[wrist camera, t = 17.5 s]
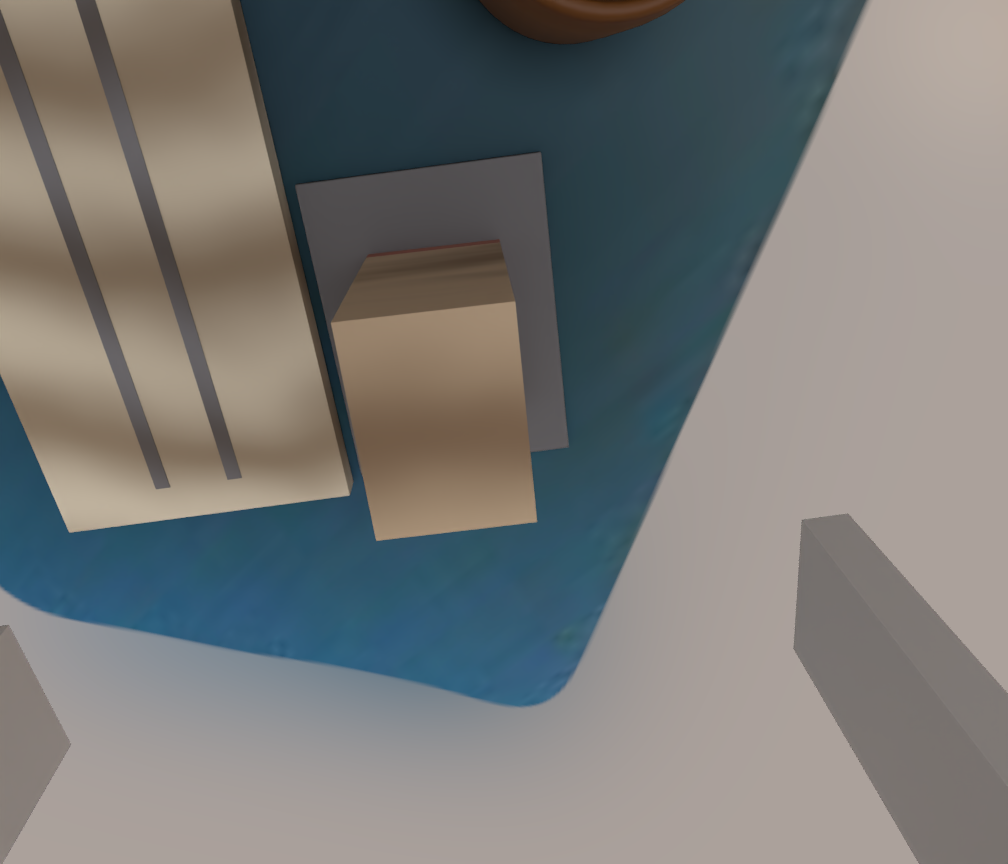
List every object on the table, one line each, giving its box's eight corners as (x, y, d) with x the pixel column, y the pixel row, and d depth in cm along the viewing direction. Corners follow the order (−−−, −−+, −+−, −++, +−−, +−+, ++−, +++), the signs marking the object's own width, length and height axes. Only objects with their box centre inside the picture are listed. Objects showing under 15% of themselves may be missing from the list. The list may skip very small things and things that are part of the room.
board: (-169, -78, 23) (-201, -86, 22) (209, -129, 23) (196, -139, 22) (82, 517, 33) (69, 533, 32) (353, 481, 33) (349, 496, 32)
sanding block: (367, 254, 28) (330, 322, 20) (499, 239, 28) (515, 301, 20) (398, 421, 31) (376, 540, 23) (516, 408, 31) (537, 521, 23)
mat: (297, 184, 27) (294, 185, 27) (539, 151, 27) (540, 152, 27) (362, 470, 33) (361, 474, 32) (567, 443, 33) (568, 447, 32)
